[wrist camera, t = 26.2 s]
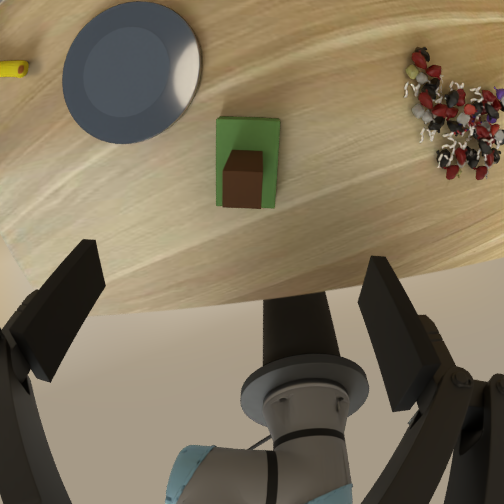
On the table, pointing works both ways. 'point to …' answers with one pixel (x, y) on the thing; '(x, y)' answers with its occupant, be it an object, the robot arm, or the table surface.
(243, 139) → the sponge brush
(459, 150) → the dark lumpy cluster
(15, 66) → the fruit
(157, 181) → the table surface
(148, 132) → the plate
